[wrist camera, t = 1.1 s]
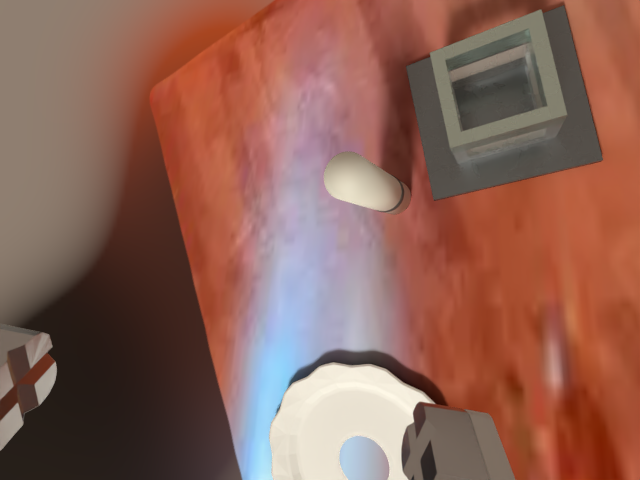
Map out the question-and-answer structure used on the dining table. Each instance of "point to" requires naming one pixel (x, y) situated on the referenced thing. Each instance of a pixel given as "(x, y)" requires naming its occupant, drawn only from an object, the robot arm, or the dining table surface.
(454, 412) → the robot arm
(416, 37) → the dining table surface
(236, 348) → the dining table surface
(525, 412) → the dining table surface
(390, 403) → the plate
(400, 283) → the dining table surface
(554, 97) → the collar holder
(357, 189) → the cream tall rounded cylinder
